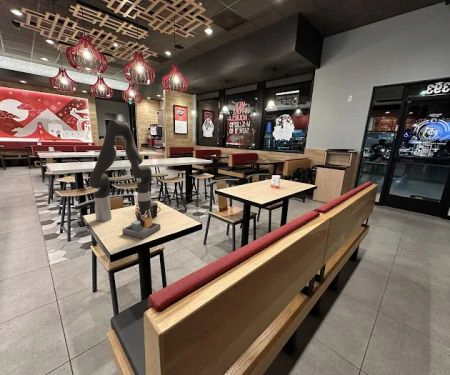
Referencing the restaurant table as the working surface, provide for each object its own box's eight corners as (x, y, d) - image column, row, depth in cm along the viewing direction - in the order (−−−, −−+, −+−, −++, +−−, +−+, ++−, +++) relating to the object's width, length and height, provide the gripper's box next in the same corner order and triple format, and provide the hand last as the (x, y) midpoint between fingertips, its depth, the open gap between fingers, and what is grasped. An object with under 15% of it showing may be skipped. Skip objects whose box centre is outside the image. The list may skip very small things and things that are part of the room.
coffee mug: (144, 215, 162) (143, 203, 160) (155, 213, 168) (155, 201, 165) (150, 220, 154) (149, 207, 151) (162, 217, 159) (161, 205, 157)
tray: (122, 234, 132) (122, 229, 131) (141, 224, 146) (141, 220, 145) (142, 239, 126) (142, 234, 125) (160, 229, 140) (160, 224, 139)
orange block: (140, 226, 132) (139, 219, 131) (146, 223, 137) (145, 216, 136) (146, 228, 130) (146, 220, 129) (152, 225, 135) (151, 217, 134)
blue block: (131, 230, 136) (131, 222, 135) (137, 227, 140) (137, 220, 139) (138, 231, 134) (137, 224, 133) (143, 228, 138) (143, 221, 137)
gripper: (147, 195, 137) (149, 220, 141) (130, 201, 125) (132, 228, 128) (157, 196, 135) (158, 221, 139) (140, 202, 122) (142, 230, 126)
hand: (146, 224), depth 133 cm, fingers closed on orange block, 5 cm apart
